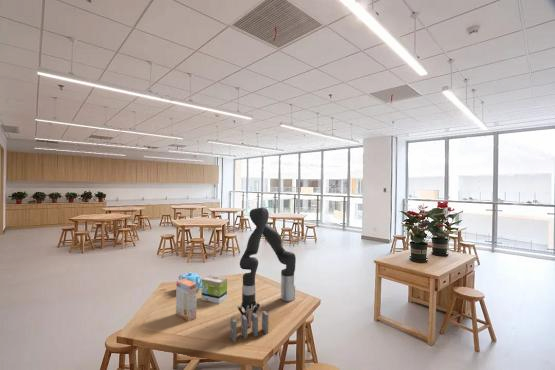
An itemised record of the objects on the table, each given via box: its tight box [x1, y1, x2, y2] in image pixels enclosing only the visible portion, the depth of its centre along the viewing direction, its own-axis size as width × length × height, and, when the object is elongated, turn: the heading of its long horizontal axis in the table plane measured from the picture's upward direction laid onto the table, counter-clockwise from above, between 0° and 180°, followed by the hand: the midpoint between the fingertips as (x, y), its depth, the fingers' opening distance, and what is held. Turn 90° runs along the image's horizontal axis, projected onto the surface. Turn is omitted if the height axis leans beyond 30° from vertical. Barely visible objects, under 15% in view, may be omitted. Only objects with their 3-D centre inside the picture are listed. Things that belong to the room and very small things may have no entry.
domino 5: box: [261, 310, 269, 334], centre depth 148 cm, size 2×5×10 cm, turn 26°
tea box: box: [201, 275, 228, 304], centre depth 188 cm, size 15×10×15 cm, turn 68°
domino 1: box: [230, 317, 237, 343], centre depth 140 cm, size 2×5×10 cm, turn 26°
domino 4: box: [251, 313, 259, 337], centre depth 145 cm, size 2×5×10 cm, turn 26°
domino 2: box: [240, 314, 248, 340], centre depth 142 cm, size 2×5×10 cm, turn 26°
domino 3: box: [247, 308, 252, 328], centre depth 154 cm, size 2×5×10 cm, turn 26°
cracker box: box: [175, 279, 198, 322], centre depth 164 cm, size 14×6×21 cm, turn 49°
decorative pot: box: [178, 271, 203, 291], centre depth 204 cm, size 16×16×14 cm
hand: (248, 322), depth 154 cm, fingers closed on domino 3, 1 cm apart
